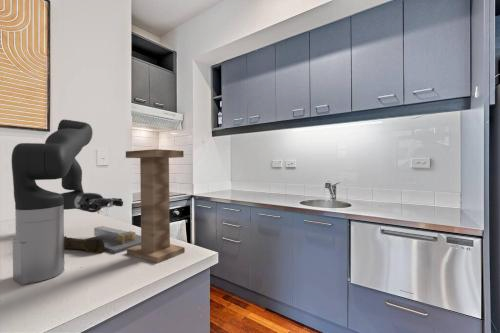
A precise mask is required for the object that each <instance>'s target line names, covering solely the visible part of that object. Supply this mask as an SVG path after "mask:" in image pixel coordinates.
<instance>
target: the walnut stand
mask: <svg viewBox="0 0 500 333" xmlns="http://www.w3.org/2000/svg"><path fill="white" fill-rule="evenodd" d="M184 155H185V154H184V150H173V149H158V148H156V149H153V148H152V149H141V150H130V151H129V150H126V151H125V159H140V160H139V165H140V166H139V167H140V168H139V170H140V172H139V173H140V176H139V177H140V178H139V179H140V236H141V244H140V245H137V246H134V247H130V248H127V250H126V254H127V255H131V256H134V257H137V258H140V259H144V260H146V261H150V262H152V263H155V264H159V263H162V262H164V261H167V260H169V259H171V258H174V257H176V256H178V255H182V254H184V253H185V252H186V251H185V250H186V248H185V247H184V246H181V245H176V244H172V243H171V233H170V232H171V227H170V221H171V220H170V218H171V217H170V158H171V159H172V158H173V159H174V158H177V159H178V158H184Z"/></svg>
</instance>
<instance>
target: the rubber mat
mask: <svg viewBox="0 0 500 333" xmlns="http://www.w3.org/2000/svg"><path fill="white" fill-rule="evenodd" d="M95 237H96V238H101V237H98V236H91V237H87V238H86V239H89V238H95ZM102 239H103V242H104V245H105V246H104V251H106V252H110V253H112V254H115V255H116V254H119V253H121V252H125V251H127V248H130V247H134V246H137V245H140V244H141V234H140V235H139V234H136V233H135V241H133V242H129V243H126V244H119V243H117V242H116V241H113V240H109V239H105V238H102Z"/></svg>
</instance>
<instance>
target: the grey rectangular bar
mask: <svg viewBox="0 0 500 333" xmlns="http://www.w3.org/2000/svg"><path fill="white" fill-rule="evenodd" d="M93 234H94V236H93V237H95V236H98V237H101V238H105V239H109V240H113V241H116V242H117V243H119V244H126V243H129V242H133V241H135V234H136V232H135V231H133V230H130V231H126V230H122V229H118V228H113V227H109V226H104V225H101V226H95V227H94V228H93Z"/></svg>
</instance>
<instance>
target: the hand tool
mask: <svg viewBox="0 0 500 333" xmlns="http://www.w3.org/2000/svg"><path fill="white" fill-rule="evenodd" d="M94 237H95V236H94ZM88 238H89V239H87V238H75V237H67V236H65V235H64V249H71V250H72V249H73V250H81V251H82V250H83V251H86V252H87V253H88V254H89V253H90V254H96V253H97V254H99V253H104V252H105V250H104V246H105V245H104V242H103V239H102V238H96V237H95V238H91V237H88Z"/></svg>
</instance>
